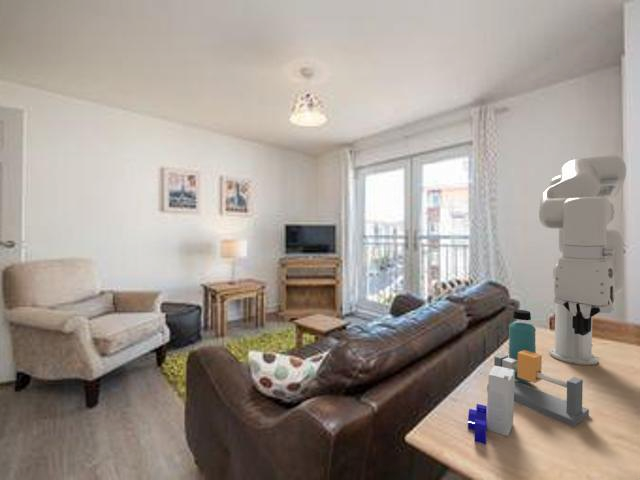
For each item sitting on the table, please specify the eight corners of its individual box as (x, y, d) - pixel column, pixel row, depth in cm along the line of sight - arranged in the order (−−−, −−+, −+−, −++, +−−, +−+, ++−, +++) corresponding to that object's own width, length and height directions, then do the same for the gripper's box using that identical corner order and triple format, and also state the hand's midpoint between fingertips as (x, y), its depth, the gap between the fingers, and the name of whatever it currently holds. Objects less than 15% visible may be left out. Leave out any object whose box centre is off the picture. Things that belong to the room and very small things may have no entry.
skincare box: (491, 416, 74) (492, 363, 73) (514, 424, 71) (515, 369, 71) (485, 430, 69) (486, 373, 68) (510, 438, 66) (510, 379, 66)
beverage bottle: (540, 389, 86) (541, 314, 85) (512, 387, 87) (513, 313, 87) (529, 378, 92) (530, 308, 92) (504, 376, 94) (505, 307, 93)
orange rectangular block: (523, 373, 83) (524, 349, 83) (541, 379, 80) (541, 354, 80) (517, 376, 82) (517, 352, 81) (534, 383, 78) (535, 357, 78)
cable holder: (469, 419, 73) (469, 402, 73) (486, 423, 71) (486, 405, 71) (466, 440, 66) (466, 420, 66) (485, 445, 64) (485, 425, 64)
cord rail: (504, 382, 90) (504, 351, 90) (588, 415, 74) (589, 378, 74) (487, 390, 86) (487, 357, 85) (573, 427, 70) (574, 387, 69)
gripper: (634, 254, 68) (631, 339, 69) (553, 249, 81) (552, 321, 82) (621, 257, 64) (618, 348, 66) (538, 251, 77) (537, 327, 78)
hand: (581, 333), depth 74 cm, fingers closed
